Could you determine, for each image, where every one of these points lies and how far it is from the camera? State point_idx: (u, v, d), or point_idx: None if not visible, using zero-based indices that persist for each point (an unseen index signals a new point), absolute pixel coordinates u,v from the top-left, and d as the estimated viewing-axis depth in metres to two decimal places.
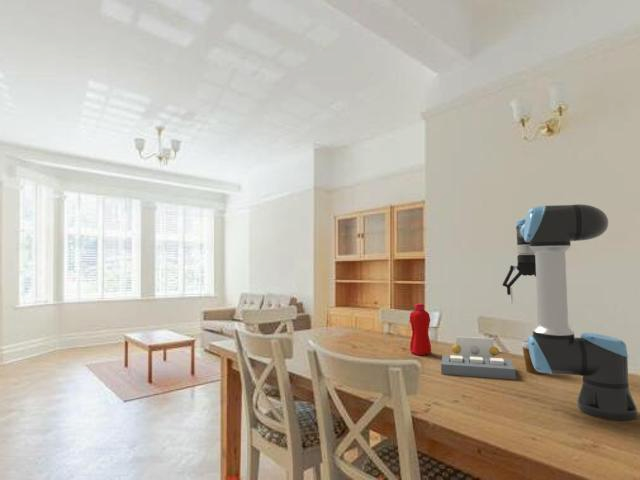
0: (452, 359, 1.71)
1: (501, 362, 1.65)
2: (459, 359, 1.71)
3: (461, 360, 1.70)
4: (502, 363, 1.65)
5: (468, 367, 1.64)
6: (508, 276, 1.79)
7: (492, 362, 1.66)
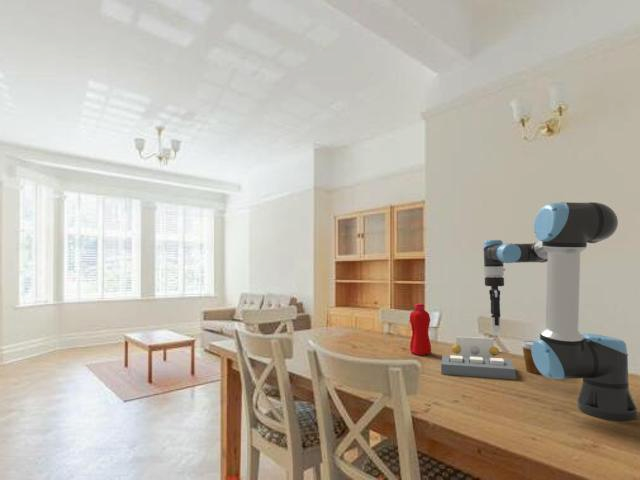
0: (452, 359, 1.71)
1: (501, 362, 1.65)
2: (459, 359, 1.71)
3: (461, 360, 1.70)
4: (502, 363, 1.65)
5: (468, 367, 1.64)
6: None
7: (492, 362, 1.66)
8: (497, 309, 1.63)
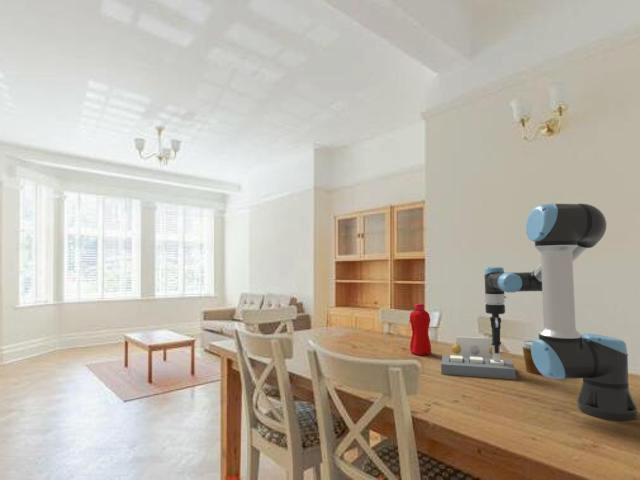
0: (452, 359, 1.71)
1: (501, 364, 1.65)
2: (459, 359, 1.71)
3: (461, 360, 1.70)
4: None
5: (468, 367, 1.64)
6: None
7: (492, 364, 1.66)
8: (497, 338, 1.65)
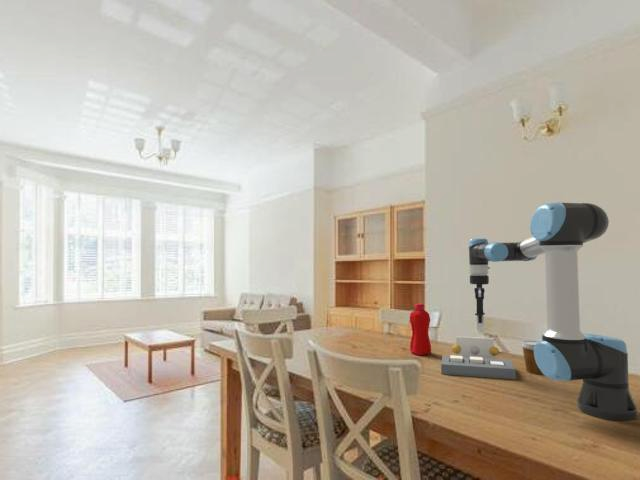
0: (452, 359, 1.71)
1: None
2: (459, 359, 1.71)
3: (461, 360, 1.70)
4: None
5: (468, 367, 1.64)
6: None
7: None
8: (480, 308, 1.68)
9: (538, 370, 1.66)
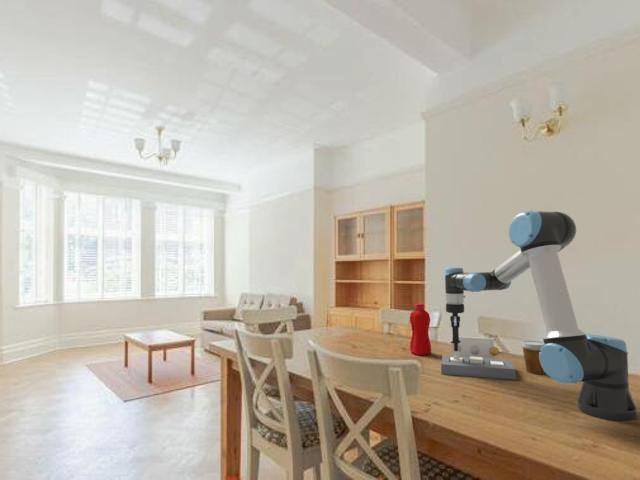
0: (452, 361, 1.71)
1: None
2: (459, 361, 1.71)
3: (461, 362, 1.70)
4: None
5: (468, 367, 1.64)
6: None
7: None
8: (456, 337, 1.70)
9: (538, 370, 1.66)
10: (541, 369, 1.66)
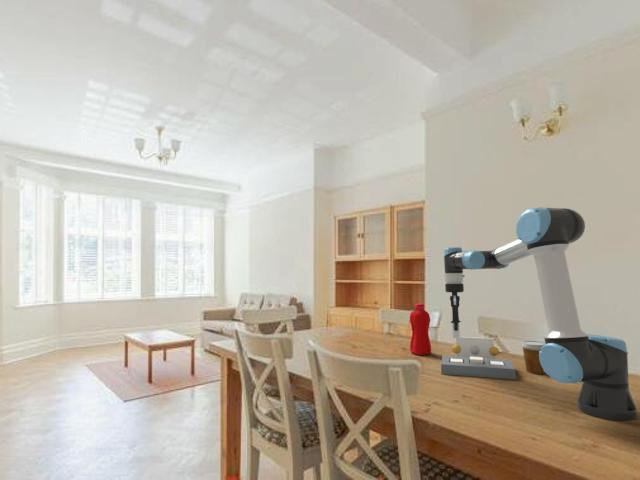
0: None
1: None
2: None
3: None
4: None
5: (468, 367, 1.64)
6: None
7: None
8: (456, 316, 1.70)
9: (538, 370, 1.66)
10: (541, 369, 1.66)
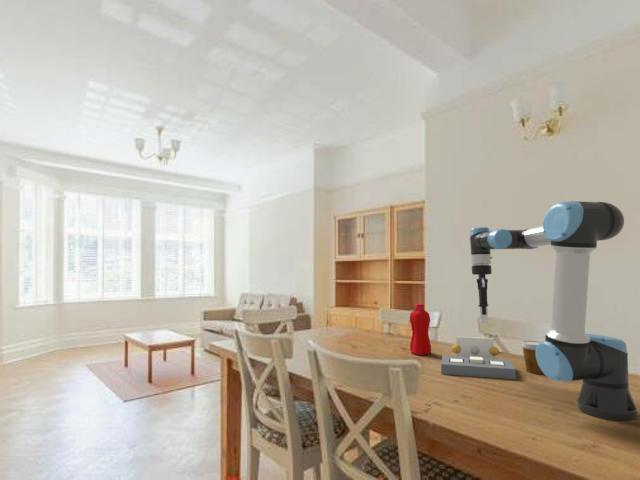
0: None
1: None
2: None
3: None
4: None
5: (468, 367, 1.64)
6: None
7: None
8: (484, 299, 1.62)
9: (538, 370, 1.66)
10: None
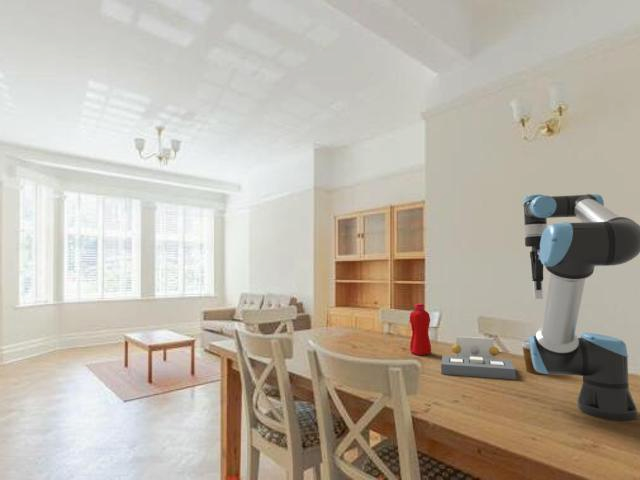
0: None
1: None
2: None
3: None
4: None
5: (468, 367, 1.64)
6: (531, 266, 1.57)
7: None
8: (540, 272, 1.48)
9: None
10: None
